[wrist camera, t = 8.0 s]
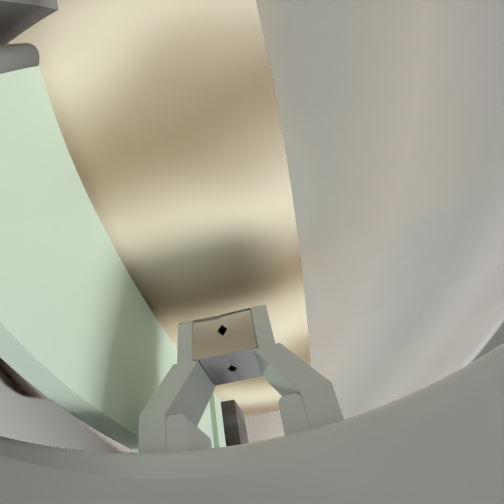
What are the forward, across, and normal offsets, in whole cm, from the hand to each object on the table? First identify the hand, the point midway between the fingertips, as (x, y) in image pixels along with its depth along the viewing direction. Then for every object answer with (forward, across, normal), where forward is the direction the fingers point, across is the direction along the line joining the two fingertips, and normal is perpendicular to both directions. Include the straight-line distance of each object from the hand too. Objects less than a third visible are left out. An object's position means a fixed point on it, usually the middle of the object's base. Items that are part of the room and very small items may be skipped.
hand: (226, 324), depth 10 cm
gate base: (+3, +4, 0) cm, 5 cm away
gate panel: (+2, +4, 0) cm, 4 cm away
